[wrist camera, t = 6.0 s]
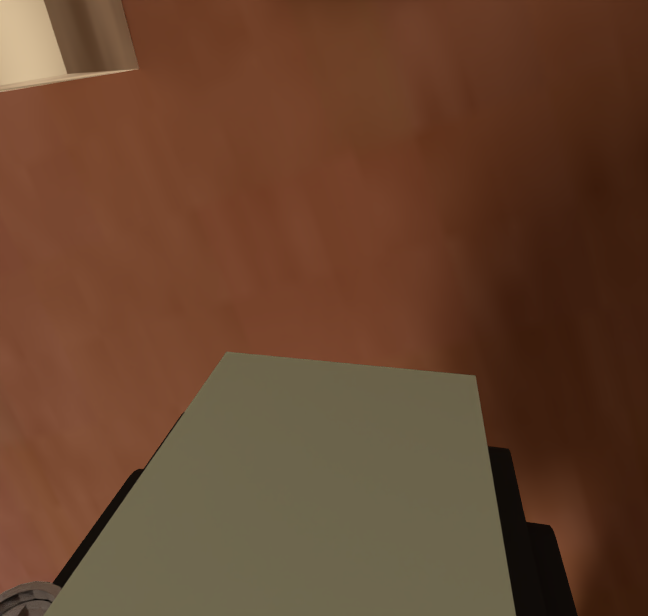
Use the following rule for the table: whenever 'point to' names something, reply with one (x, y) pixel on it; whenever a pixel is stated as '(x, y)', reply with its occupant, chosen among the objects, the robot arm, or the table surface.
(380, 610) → the sage block
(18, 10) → the maple block
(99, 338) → the table surface
